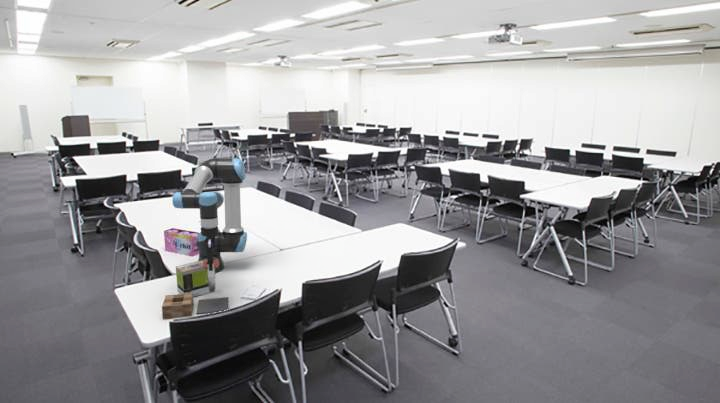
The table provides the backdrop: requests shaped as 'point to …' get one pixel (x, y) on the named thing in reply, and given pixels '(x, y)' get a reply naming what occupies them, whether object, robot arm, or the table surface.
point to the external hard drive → (253, 293)
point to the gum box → (181, 241)
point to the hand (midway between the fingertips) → (211, 273)
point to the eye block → (177, 306)
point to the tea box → (192, 278)
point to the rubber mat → (212, 305)
